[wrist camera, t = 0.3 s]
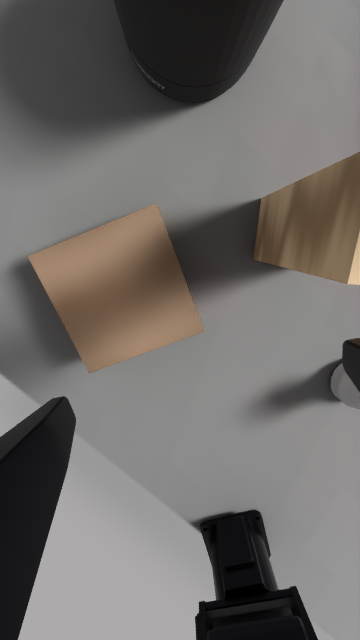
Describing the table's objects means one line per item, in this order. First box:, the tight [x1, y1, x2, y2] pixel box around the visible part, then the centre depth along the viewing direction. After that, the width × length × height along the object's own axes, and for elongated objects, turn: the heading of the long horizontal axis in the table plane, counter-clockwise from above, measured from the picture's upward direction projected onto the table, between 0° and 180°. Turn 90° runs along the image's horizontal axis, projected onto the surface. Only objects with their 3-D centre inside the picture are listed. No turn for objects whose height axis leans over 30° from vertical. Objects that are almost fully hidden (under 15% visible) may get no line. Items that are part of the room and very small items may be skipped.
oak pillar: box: [253, 152, 360, 285], centre depth 16 cm, size 4×4×12 cm
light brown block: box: [28, 204, 204, 373], centre depth 21 cm, size 9×9×4 cm
